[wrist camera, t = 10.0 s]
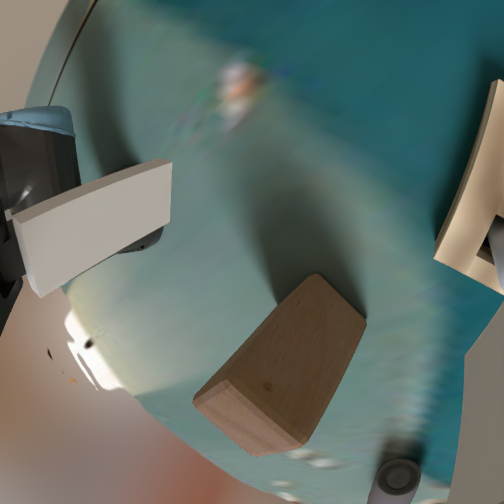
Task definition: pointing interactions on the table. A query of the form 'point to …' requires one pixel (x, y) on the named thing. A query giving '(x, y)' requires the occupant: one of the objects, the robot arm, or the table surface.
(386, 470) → the bluetooth speaker
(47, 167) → the robot arm
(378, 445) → the table surface
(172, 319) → the table surface
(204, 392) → the wooden block
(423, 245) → the table surface
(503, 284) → the grey peg
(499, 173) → the hole block
